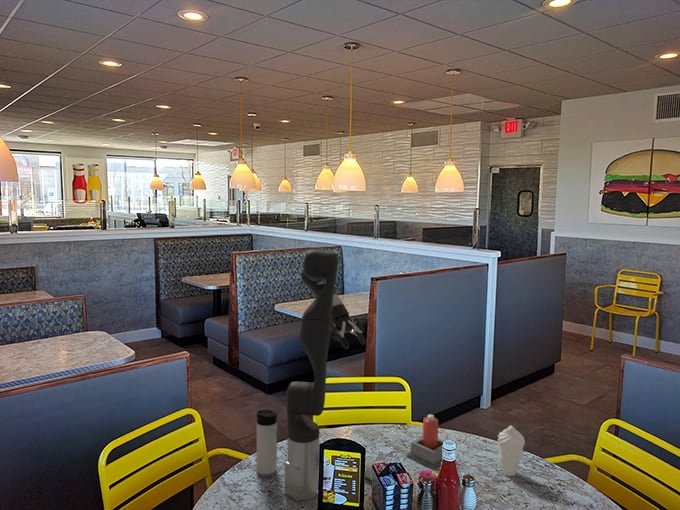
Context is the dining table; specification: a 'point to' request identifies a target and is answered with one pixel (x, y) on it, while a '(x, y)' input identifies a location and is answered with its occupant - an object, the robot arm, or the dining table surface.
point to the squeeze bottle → (430, 432)
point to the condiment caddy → (426, 453)
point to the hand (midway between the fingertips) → (355, 345)
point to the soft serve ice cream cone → (510, 450)
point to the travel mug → (266, 443)
